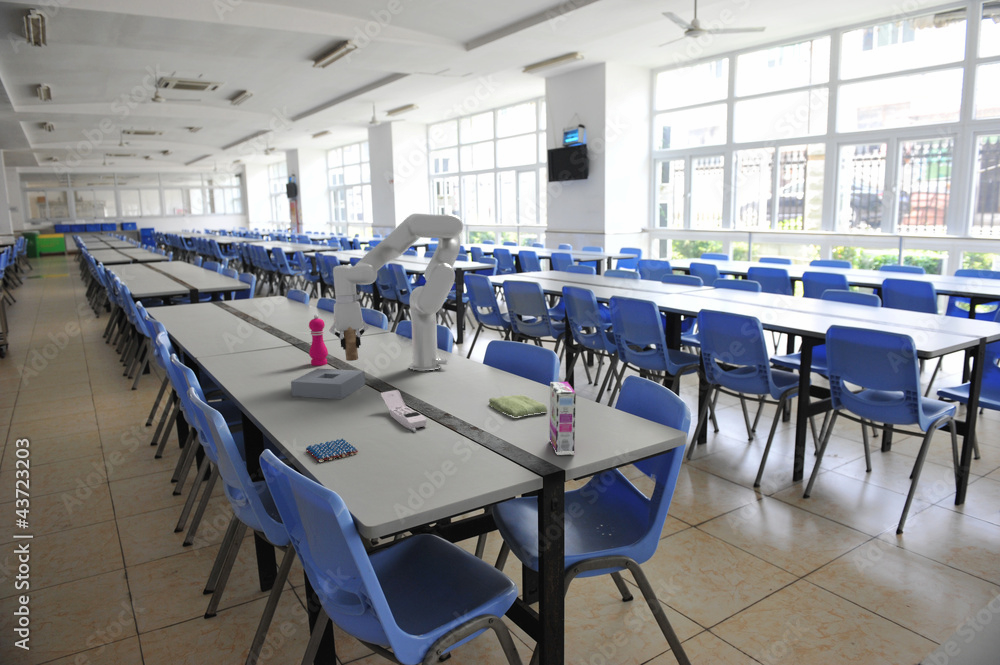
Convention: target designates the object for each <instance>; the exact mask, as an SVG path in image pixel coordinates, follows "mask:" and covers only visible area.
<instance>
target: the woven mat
mask: <svg viewBox="0 0 1000 665" xmlns="http://www.w3.org/2000/svg"><path fill="white" fill-rule="evenodd" d="M307 450H308V451H307ZM305 451H306V453H308V454H310V455H312V454H313V455H312V456H311V457H312V458H314V459H315V460H317V462H318V461H319V460H320V461H323V460H327V461H328V459H330V460H331V461H333V458H336V459H337V457H339V458H341V459H342V458H345V457H349V456H351V455H352V456H354V455H355V454H356V455H358V452H359V451H358V449H356V447H354V446H353V445H351V444H350V443H349V442H348V441H346V440H345V439H344V438H340V439H336V440H330V441H325V442H323V443H322V442H319V443H316V444H312V445H311V444H310V445H308V446H307V447H305ZM349 454H350V455H349ZM330 460H329V461H330ZM323 462H324V461H323Z"/></svg>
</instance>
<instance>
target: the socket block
mask: <svg viewBox="0 0 1000 665" xmlns="http://www.w3.org/2000/svg"><path fill="white" fill-rule="evenodd" d="M290 385H291V386H290V387H291V396H292V397H299V396H301V397H302V398H317V399H319V398H320V399H333V400H334V399H336V400H343V399H345V398H346V397H347V396H349V395H351V394H352V393H354V392H356V391H357V390H359V389H361V388H362V387H363V386H365V385H366V378H365V370H355V369H354V370H353V369H336V368H335V369H334V368H316V369H315V368H314V369H313V370H311V371H310V372H307V373H305V374H303V375H301V376H299V377H297V378H295V379H293V380H291V381H290Z"/></svg>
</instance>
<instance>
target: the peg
mask: <svg viewBox="0 0 1000 665" xmlns="http://www.w3.org/2000/svg"><path fill="white" fill-rule="evenodd" d="M356 335H357V334H356V330H353V329H352V328H351V327H348V329H347V330H346V331H344V334H343V337H344V339H345V361H348V362H352V361H357V360H359V354H358V348H357V341H356Z"/></svg>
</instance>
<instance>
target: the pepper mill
mask: <svg viewBox="0 0 1000 665" xmlns="http://www.w3.org/2000/svg"><path fill="white" fill-rule="evenodd" d="M308 328H309V329H310V335H311V338H312V341H311V345H310V348H309V352H308V353H309V354H308V355H309V357H310V358H311V360H310V365H311V366H315V367H319V366H325V365H328V359H327V356H328V355H329V351H328V347H327V346H326V344H325V341H324V334H325V332H324V329H325V321H324V320H323V319H321V318H319V315H318V314H314V315H313V318H312V319H311V320H309V323H308Z"/></svg>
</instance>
